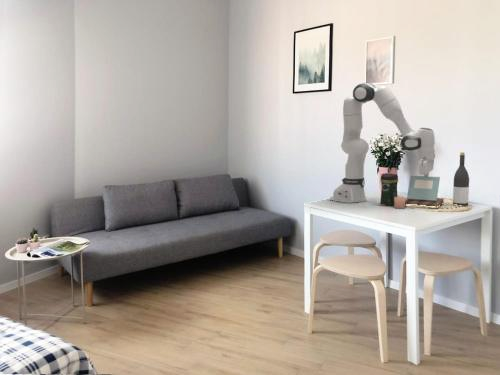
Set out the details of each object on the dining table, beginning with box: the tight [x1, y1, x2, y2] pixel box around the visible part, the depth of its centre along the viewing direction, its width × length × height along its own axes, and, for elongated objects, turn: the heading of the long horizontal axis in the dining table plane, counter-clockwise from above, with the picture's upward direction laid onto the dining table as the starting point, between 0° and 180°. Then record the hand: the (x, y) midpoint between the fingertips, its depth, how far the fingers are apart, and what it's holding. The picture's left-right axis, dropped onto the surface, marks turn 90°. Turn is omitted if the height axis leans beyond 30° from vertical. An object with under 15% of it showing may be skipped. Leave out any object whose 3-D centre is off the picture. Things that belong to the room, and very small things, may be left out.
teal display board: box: [406, 175, 441, 201], centre depth 265 cm, size 16×14×1 cm
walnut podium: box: [405, 197, 445, 207], centre depth 268 cm, size 18×16×8 cm
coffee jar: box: [380, 172, 399, 207], centre depth 272 cm, size 10×8×19 cm
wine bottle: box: [452, 151, 470, 207], centre depth 263 cm, size 8×8×30 cm
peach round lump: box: [393, 195, 406, 210], centre depth 263 cm, size 6×6×6 cm
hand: (426, 180), depth 268 cm, fingers closed, pressing on teal display board
